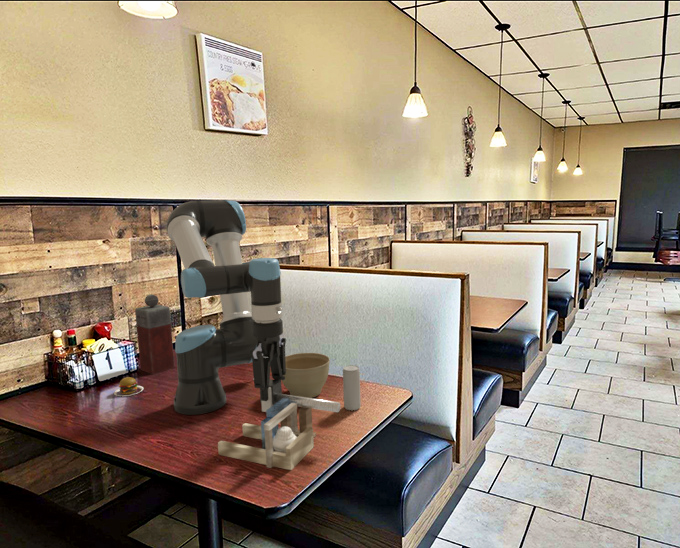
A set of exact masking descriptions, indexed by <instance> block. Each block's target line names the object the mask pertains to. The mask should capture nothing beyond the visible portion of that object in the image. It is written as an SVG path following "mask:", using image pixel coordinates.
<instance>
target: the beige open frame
mask: <svg viewBox="0 0 680 548" xmlns="http://www.w3.org/2000/svg"><path fill="white" fill-rule="evenodd" d="M289 414H290V416H291V430H292V432H293V434H295V435H296V436H297V438H296V439H295V440H294V441H293V442H292V443H291V444H290V445H288V446H287V447H286V453H281V452H276V451H275V450H273V437H272V428H274V427H275V426H276V425H277V424H278V425H279V423H280V422H281V421H282V420H283V419H285V418H286V417H287V416H288V415H289ZM298 423H299V422H298V406H297V403H291V404H290V405H289V406H287V407H286V408H285V409H283V410H282V411H281V412H279V413H278V414H277V415H276V416H274V417H273V418H272V419H271V420H269V421H268V422H267V423H265V424H264V430H265V447H266V449H262V447H256V446H255V447H254V446H250V445H245V444H240V443H235V442H231V441H225V440H219V441H218V442H217V451H218V456H219V455H220V456H224V457H227V458H233V459H237V460H242V461H247V462H251V463H255V464H260V465H265V466H266V468H270V469H273V467H274V468H279V469H283V470H288V471H292V470H293V469H294V468H296V466H297V465H298V464H299V463H301V461H302V460H303V459H304V458H305V457H306V456H307V455H308V454H309V452H310V451H311V450H313V448H314V447H315V444H314V442H315V441H314V438H315V437H314V438H313V432H314V427H313V426H312V427H308V428H307V429H306V430H305V431H303V432H302V433H298V430H299V428H298V427H299V424H298ZM241 428H242V436H243V437H247V438H251V439H257V440H261V441H262V432H261V425H260V424H259V425H257V424H253V423H246V422H245V423H243V424H242V426H241Z"/></svg>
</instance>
